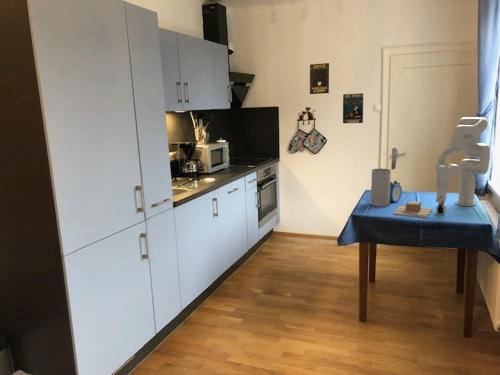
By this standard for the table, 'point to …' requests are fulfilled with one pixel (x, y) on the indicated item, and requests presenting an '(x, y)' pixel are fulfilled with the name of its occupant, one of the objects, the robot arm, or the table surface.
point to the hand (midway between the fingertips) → (440, 211)
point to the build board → (421, 214)
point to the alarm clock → (395, 191)
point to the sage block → (443, 209)
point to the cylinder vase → (380, 187)
